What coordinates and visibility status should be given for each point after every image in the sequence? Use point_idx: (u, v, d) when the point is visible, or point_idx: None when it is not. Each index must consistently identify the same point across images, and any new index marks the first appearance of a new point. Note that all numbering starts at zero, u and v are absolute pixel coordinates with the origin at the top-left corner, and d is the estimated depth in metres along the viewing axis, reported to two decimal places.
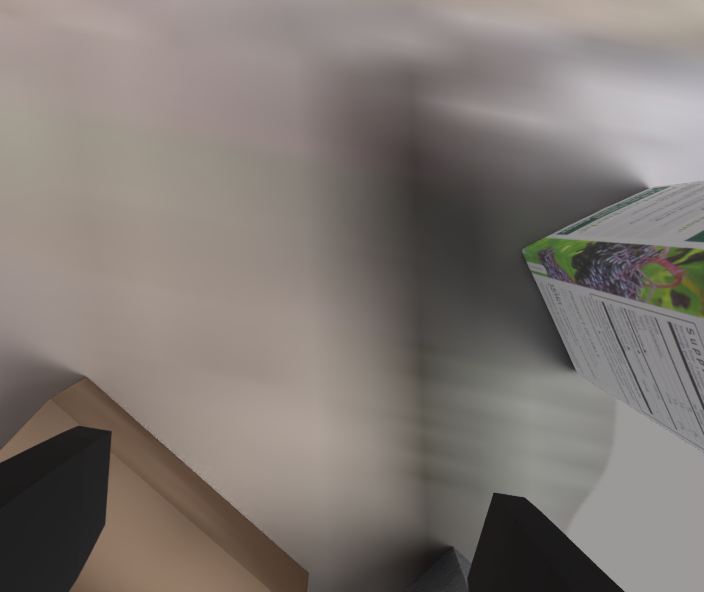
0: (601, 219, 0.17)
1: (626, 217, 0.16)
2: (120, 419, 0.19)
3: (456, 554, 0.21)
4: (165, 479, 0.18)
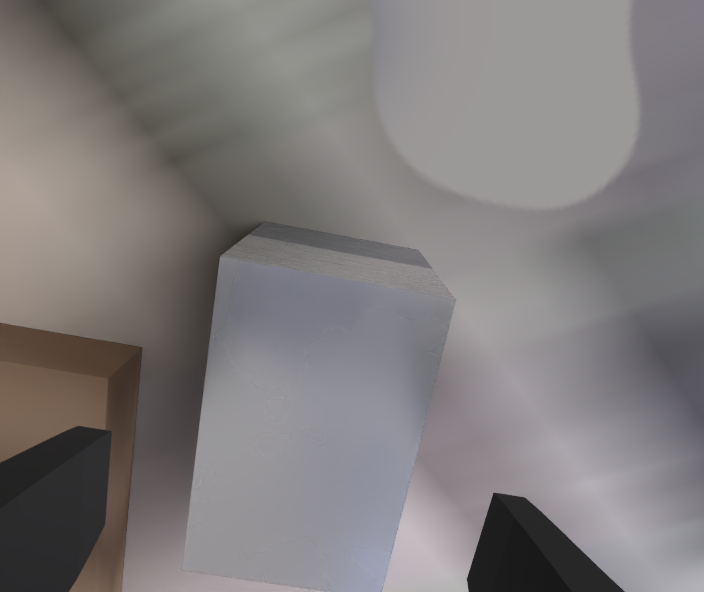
0: None
1: None
2: None
3: (265, 223, 0.16)
4: None
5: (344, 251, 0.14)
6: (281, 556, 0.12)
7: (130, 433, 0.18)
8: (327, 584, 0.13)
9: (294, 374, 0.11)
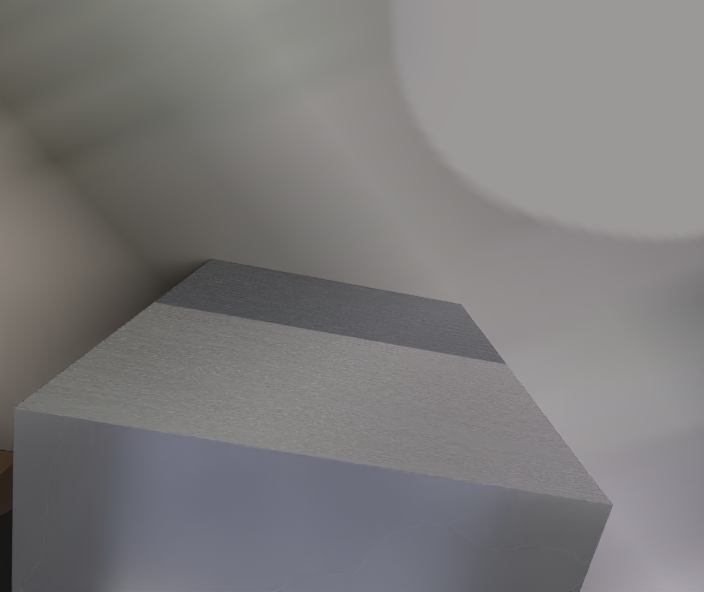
0: None
1: None
2: None
3: (207, 265, 0.09)
4: None
5: (339, 330, 0.07)
6: None
7: None
8: None
9: None
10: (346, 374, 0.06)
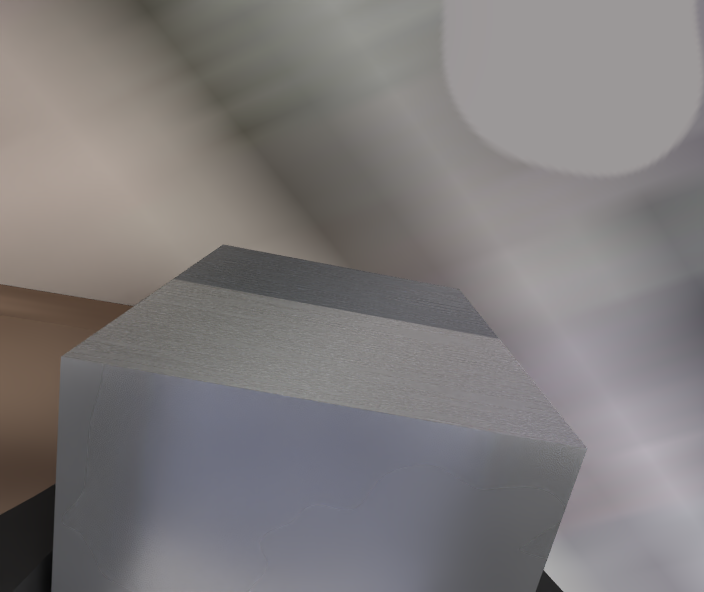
0: None
1: None
2: None
3: (219, 250, 0.10)
4: None
5: (344, 306, 0.08)
6: None
7: None
8: None
9: None
10: (351, 341, 0.06)
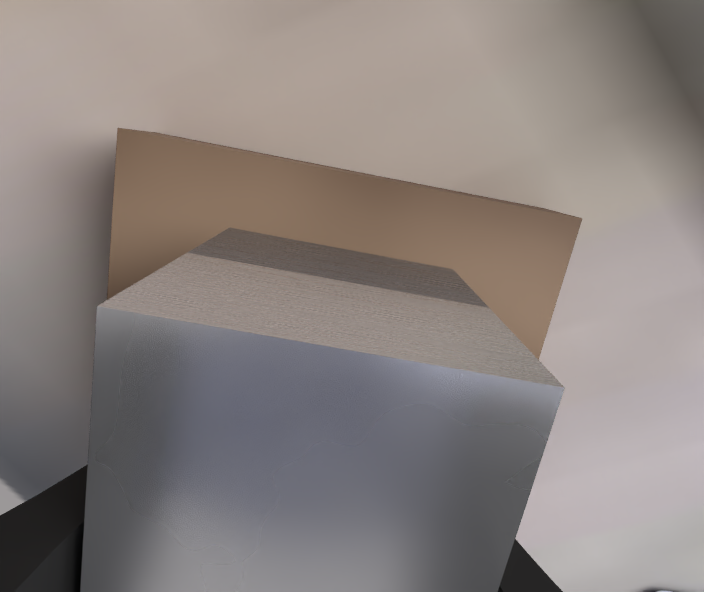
0: None
1: None
2: (221, 146, 0.14)
3: (226, 231, 0.10)
4: (312, 164, 0.14)
5: (345, 279, 0.08)
6: None
7: None
8: None
9: (252, 522, 0.06)
10: (353, 305, 0.07)
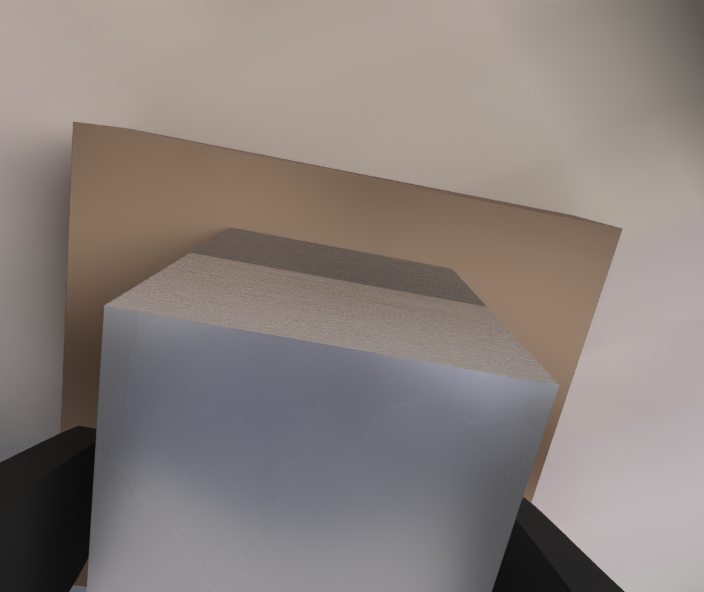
0: None
1: None
2: (199, 143, 0.12)
3: (229, 231, 0.11)
4: (305, 165, 0.12)
5: (346, 278, 0.09)
6: None
7: None
8: None
9: (254, 517, 0.06)
10: (353, 304, 0.07)
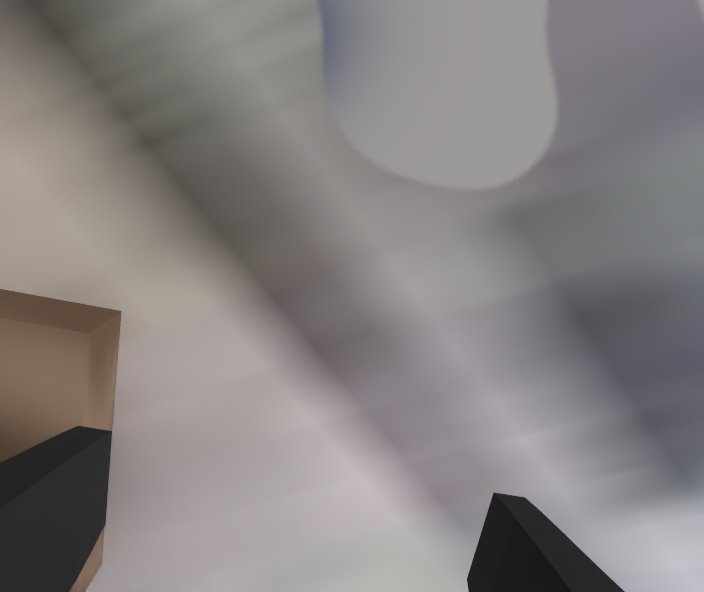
0: None
1: None
2: None
3: None
4: None
5: None
6: None
7: (110, 388, 0.20)
8: None
9: None
10: None
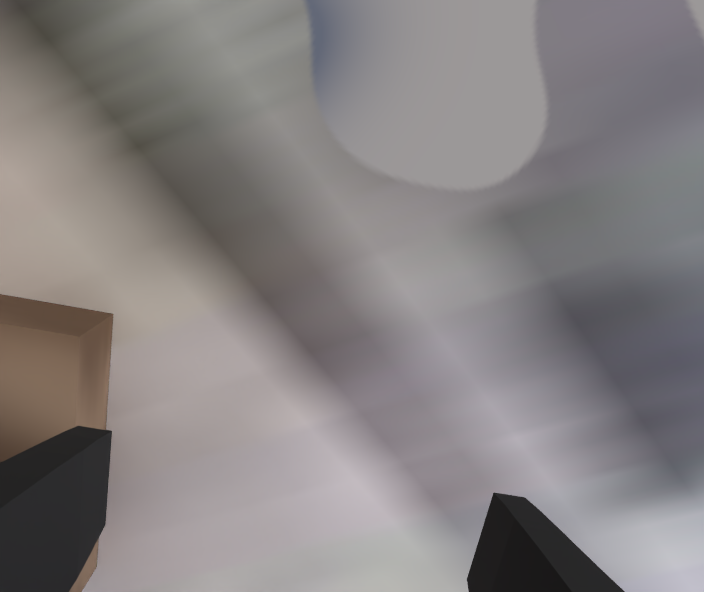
0: None
1: None
2: None
3: None
4: None
5: None
6: None
7: (103, 391, 0.20)
8: None
9: None
10: None
